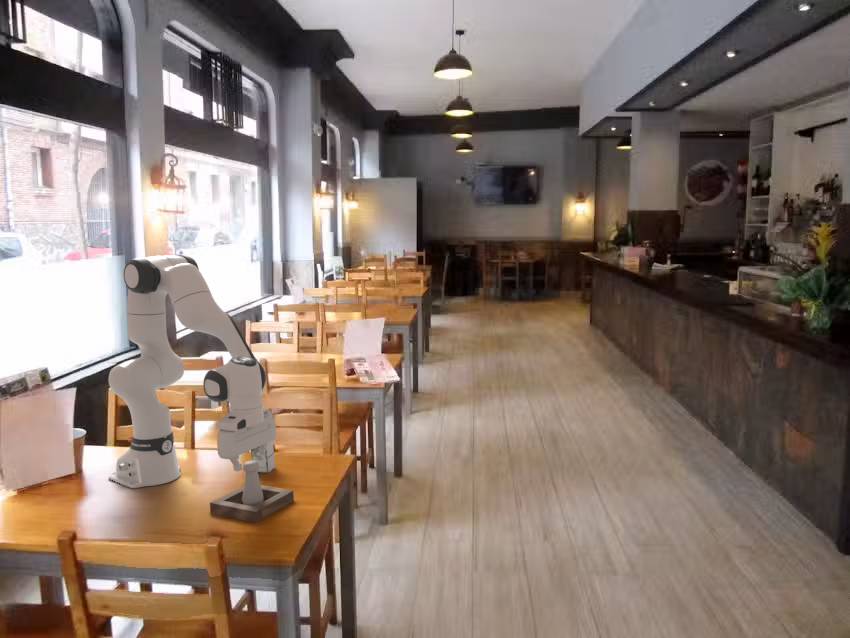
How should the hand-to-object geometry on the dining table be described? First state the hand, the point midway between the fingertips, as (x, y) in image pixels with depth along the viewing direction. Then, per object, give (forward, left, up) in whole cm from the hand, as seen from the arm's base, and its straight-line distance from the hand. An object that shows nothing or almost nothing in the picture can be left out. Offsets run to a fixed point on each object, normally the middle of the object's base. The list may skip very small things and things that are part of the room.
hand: (249, 464), depth 189 cm
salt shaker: (0, 0, -12) cm, 12 cm away
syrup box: (-17, +25, -12) cm, 33 cm away
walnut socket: (0, 0, -12) cm, 12 cm away
